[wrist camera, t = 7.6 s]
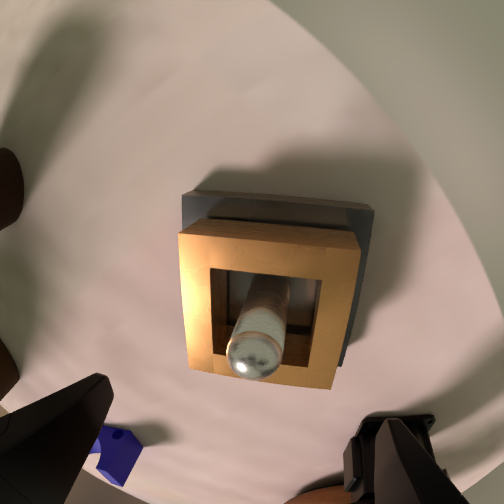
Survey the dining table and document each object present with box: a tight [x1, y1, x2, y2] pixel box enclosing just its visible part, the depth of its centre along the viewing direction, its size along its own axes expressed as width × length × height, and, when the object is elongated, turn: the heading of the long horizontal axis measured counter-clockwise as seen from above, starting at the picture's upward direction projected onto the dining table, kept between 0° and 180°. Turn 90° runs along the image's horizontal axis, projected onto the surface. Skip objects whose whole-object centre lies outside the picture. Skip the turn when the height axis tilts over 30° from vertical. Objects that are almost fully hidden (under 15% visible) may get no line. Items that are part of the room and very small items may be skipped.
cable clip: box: [89, 426, 143, 487], centre depth 24 cm, size 12×4×6 cm, turn 104°
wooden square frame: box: [178, 218, 361, 390], centre depth 14 cm, size 7×7×2 cm
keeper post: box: [182, 190, 374, 381], centre depth 13 cm, size 9×9×8 cm
